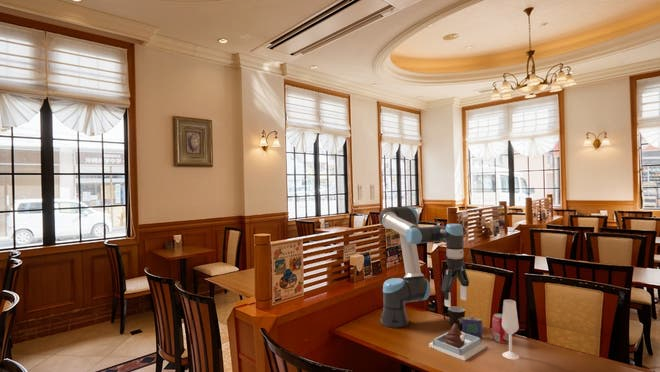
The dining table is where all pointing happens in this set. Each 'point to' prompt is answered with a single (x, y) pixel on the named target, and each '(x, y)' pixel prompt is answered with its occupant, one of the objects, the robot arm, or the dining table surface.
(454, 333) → the poop emoji
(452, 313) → the coffee mug
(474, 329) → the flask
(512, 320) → the champagne flute
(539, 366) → the dining table surface
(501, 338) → the soda can
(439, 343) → the white square tray
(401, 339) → the dining table surface
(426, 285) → the robot arm
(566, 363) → the dining table surface
